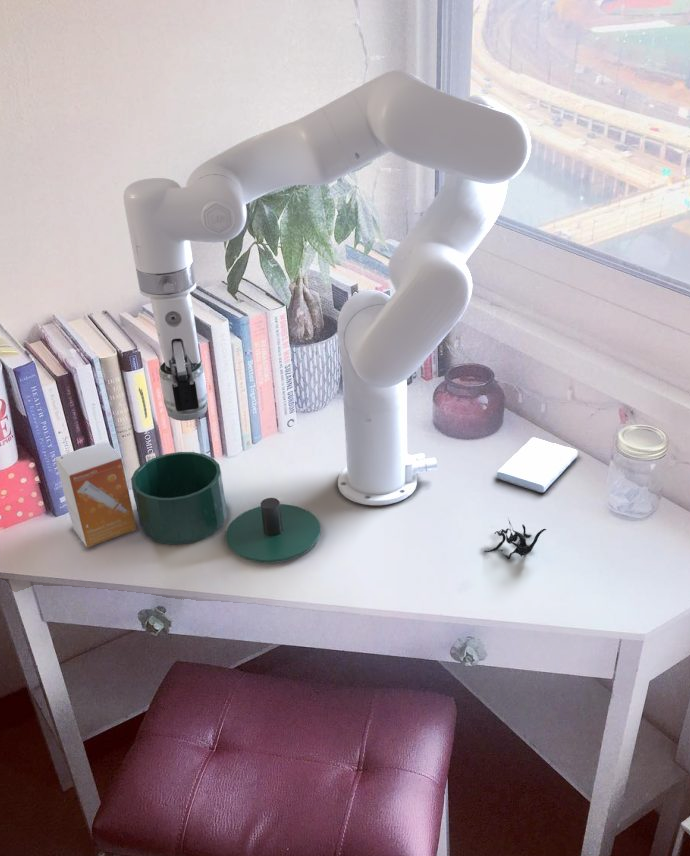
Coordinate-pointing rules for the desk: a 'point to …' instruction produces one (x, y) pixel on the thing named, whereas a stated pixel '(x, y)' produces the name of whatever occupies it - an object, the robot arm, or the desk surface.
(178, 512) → the pot
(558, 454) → the hard drive
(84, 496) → the small box
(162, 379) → the camera lens
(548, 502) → the desk surface
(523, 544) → the creature
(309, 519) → the lid
